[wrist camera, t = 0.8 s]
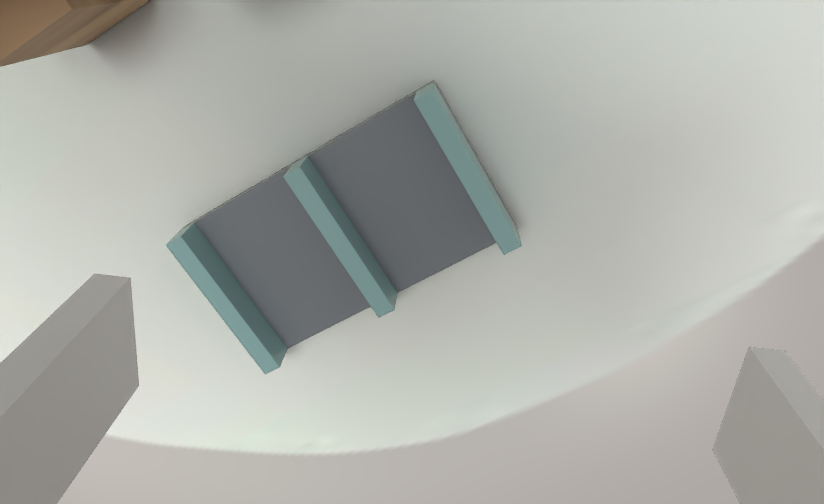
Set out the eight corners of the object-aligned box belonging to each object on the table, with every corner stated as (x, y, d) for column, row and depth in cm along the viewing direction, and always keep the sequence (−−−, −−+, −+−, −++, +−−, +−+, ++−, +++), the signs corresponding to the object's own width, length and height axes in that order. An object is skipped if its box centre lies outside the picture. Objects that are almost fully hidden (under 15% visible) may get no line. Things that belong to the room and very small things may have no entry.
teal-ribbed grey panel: (183, 226, 39) (165, 245, 36) (434, 80, 35) (432, 89, 32) (276, 350, 41) (264, 374, 39) (517, 227, 37) (521, 246, 35)
